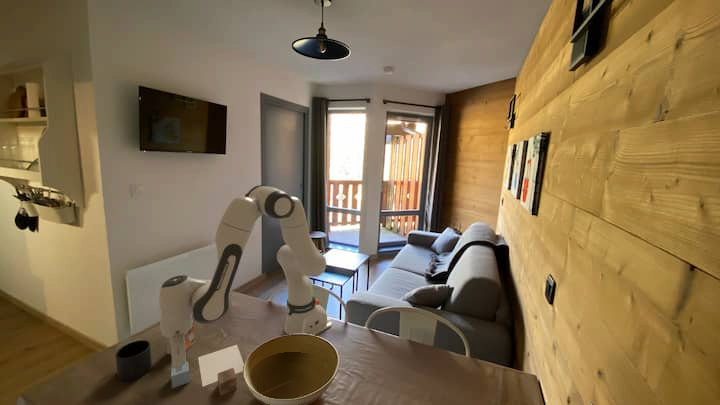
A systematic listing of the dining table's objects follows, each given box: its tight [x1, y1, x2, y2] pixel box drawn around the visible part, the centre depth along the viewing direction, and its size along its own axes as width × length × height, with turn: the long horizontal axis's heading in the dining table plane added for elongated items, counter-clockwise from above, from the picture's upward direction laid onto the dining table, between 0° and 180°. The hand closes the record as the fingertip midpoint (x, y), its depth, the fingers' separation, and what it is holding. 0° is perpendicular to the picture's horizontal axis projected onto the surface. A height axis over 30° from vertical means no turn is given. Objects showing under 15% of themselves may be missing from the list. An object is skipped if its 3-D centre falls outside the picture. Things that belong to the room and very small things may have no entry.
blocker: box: [217, 368, 238, 397], centre depth 92 cm, size 5×5×5 cm
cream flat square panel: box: [198, 344, 245, 388], centre depth 102 cm, size 14×16×1 cm
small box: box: [166, 320, 196, 355], centre depth 108 cm, size 8×6×10 cm
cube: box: [170, 360, 190, 389], centre depth 93 cm, size 5×5×5 cm
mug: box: [115, 339, 153, 383], centre depth 96 cm, size 9×12×9 cm
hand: (178, 361), depth 92 cm, fingers open, 8 cm apart
